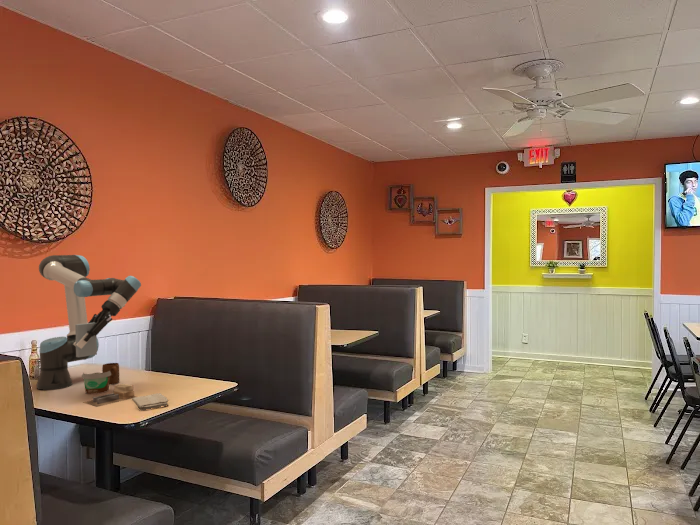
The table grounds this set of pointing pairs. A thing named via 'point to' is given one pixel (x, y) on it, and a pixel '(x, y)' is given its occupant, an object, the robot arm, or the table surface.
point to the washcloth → (150, 401)
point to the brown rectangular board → (105, 400)
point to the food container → (96, 382)
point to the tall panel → (91, 345)
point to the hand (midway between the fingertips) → (77, 346)
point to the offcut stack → (124, 391)
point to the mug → (112, 372)
